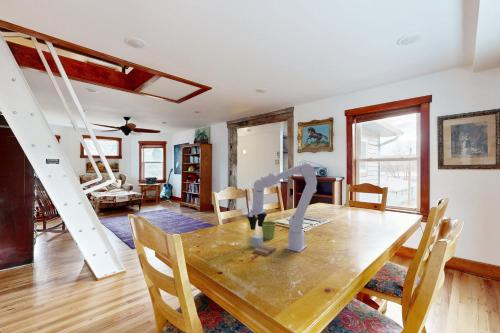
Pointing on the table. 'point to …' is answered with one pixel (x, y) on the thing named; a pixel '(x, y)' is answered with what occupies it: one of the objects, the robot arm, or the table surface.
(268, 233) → the plant pot
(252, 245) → the block
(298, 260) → the table surface
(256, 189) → the robot arm
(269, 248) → the slab
